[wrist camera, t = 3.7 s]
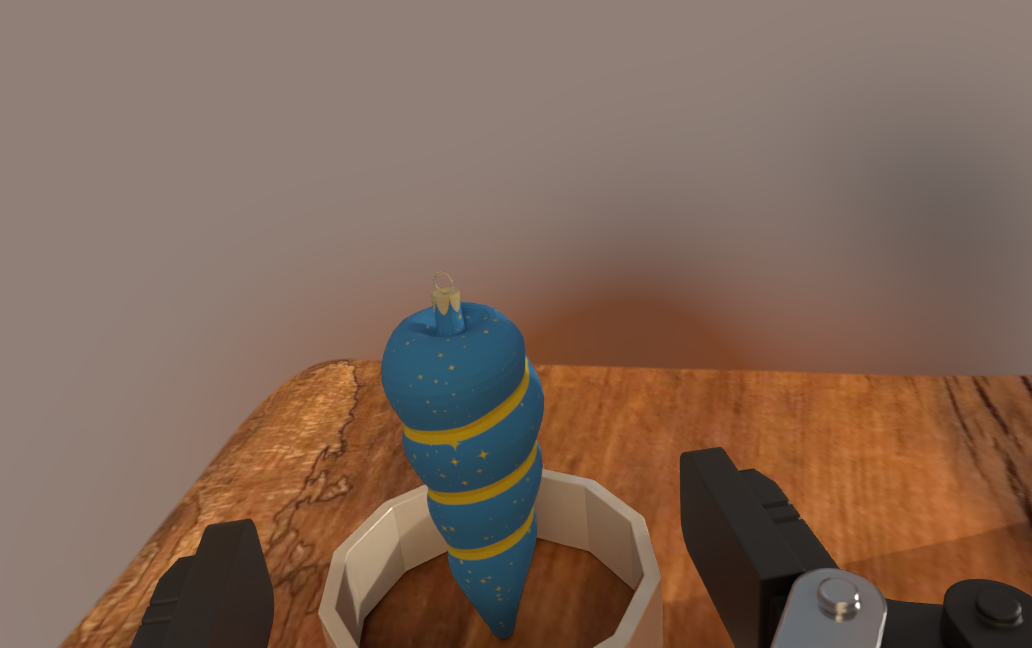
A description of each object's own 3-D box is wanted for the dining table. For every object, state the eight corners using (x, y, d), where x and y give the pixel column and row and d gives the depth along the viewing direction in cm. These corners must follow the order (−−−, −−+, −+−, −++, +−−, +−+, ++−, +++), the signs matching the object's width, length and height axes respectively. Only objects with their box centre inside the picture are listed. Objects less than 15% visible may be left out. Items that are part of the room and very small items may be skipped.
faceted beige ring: (541, 496, 38) (535, 435, 37) (729, 655, 29) (729, 580, 27) (299, 613, 33) (280, 546, 31) (429, 858, 23) (410, 777, 22)
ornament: (522, 709, 28) (467, 315, 21) (406, 658, 30) (327, 294, 24) (588, 608, 31) (557, 252, 25) (480, 571, 34) (429, 240, 28)
